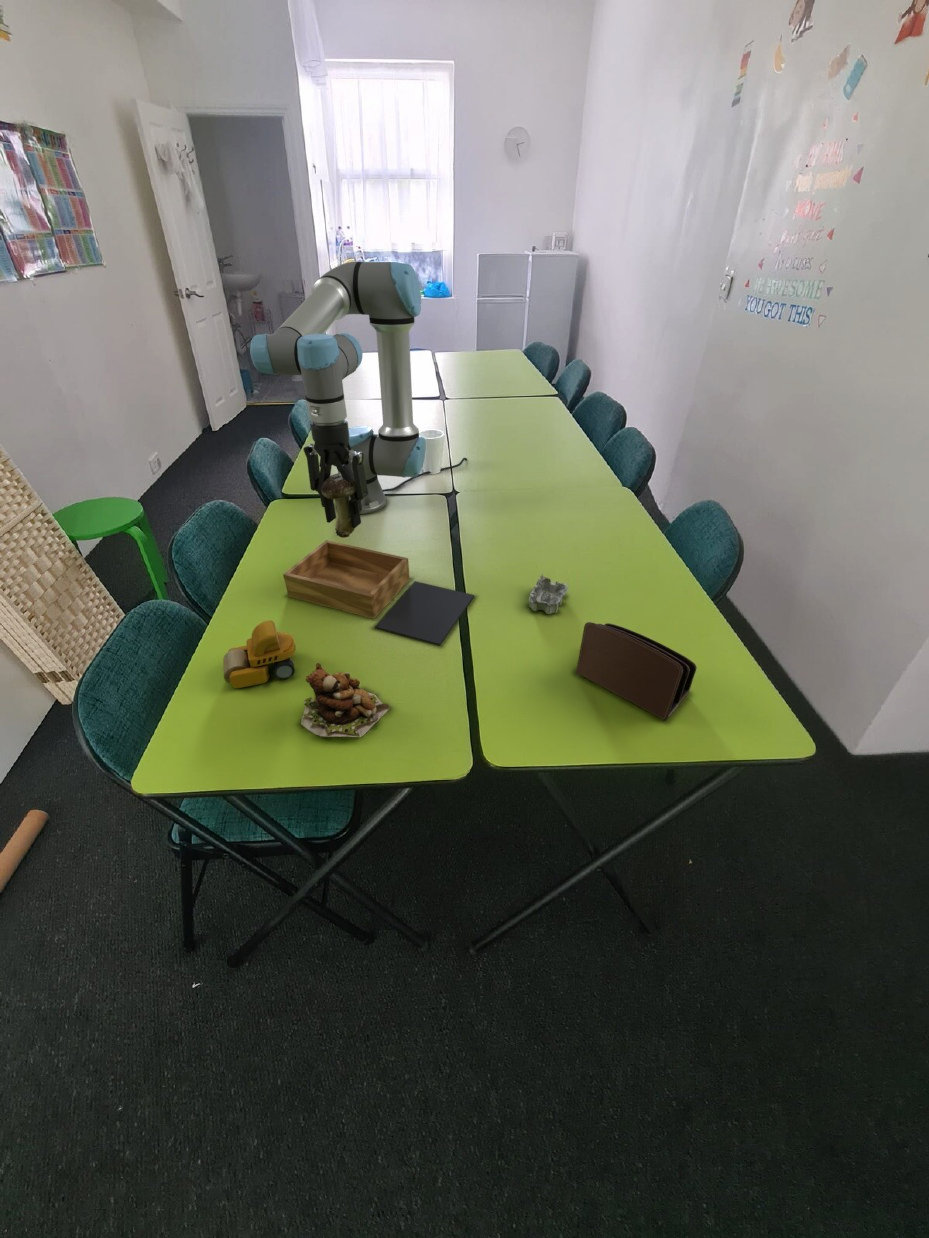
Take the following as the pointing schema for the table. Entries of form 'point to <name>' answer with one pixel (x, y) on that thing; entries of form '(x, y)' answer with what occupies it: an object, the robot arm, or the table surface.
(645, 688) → the letter holder
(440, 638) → the mat
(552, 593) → the egg carton
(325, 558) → the crate
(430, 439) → the foam cup
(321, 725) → the bear figurine
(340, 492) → the mushroom
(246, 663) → the toy roller
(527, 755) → the table surface
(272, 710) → the table surface
